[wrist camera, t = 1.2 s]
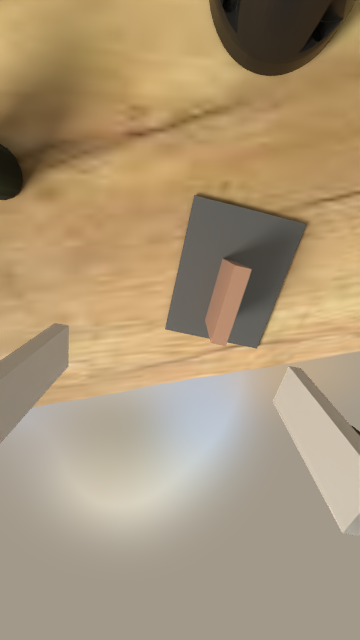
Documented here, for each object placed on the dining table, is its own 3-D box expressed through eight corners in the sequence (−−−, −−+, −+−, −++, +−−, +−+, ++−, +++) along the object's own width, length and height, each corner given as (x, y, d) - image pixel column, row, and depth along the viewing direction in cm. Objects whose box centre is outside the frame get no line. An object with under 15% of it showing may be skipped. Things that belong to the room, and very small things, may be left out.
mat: (194, 196, 29) (194, 195, 29) (304, 224, 31) (306, 223, 30) (165, 327, 37) (165, 329, 36) (255, 346, 38) (256, 348, 37)
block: (222, 258, 32) (234, 265, 24) (237, 262, 32) (254, 269, 24) (204, 320, 35) (210, 342, 28) (218, 323, 35) (228, 346, 28)
